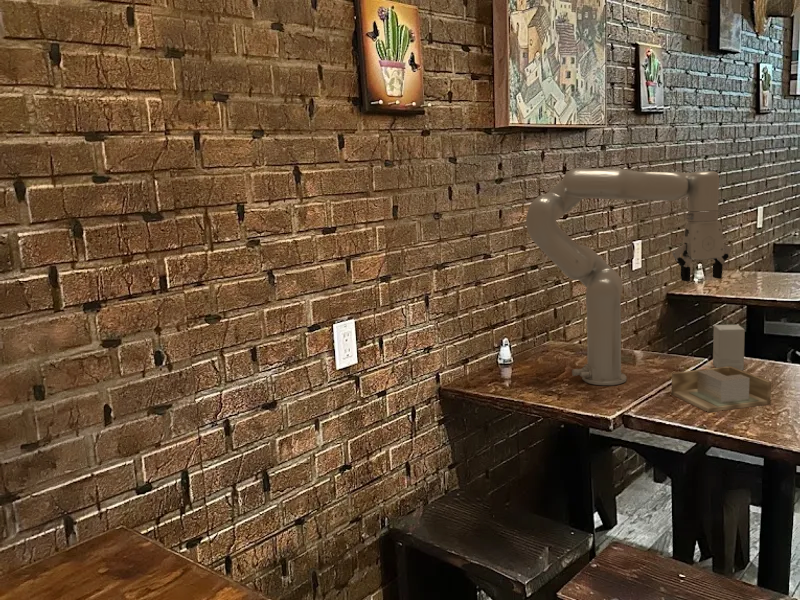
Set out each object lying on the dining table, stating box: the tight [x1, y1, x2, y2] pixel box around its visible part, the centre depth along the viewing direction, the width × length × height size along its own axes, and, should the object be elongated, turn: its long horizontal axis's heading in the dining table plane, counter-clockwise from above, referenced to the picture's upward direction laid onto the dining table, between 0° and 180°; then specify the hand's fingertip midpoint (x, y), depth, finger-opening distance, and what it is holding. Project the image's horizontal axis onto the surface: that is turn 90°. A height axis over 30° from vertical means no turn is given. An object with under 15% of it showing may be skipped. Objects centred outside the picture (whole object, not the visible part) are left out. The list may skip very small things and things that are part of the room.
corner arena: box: [671, 366, 772, 413], centre depth 189 cm, size 18×16×6 cm
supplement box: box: [712, 324, 746, 371], centre depth 216 cm, size 7×7×13 cm
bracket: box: [698, 370, 750, 404], centre depth 187 cm, size 10×8×6 cm
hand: (701, 279), depth 197 cm, fingers open, 9 cm apart
